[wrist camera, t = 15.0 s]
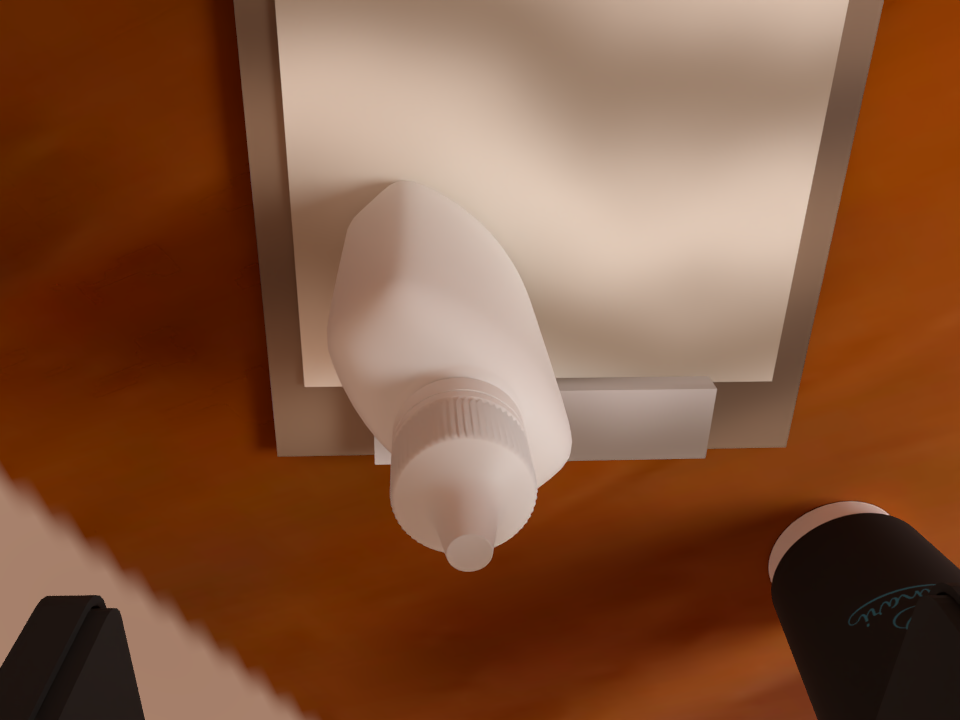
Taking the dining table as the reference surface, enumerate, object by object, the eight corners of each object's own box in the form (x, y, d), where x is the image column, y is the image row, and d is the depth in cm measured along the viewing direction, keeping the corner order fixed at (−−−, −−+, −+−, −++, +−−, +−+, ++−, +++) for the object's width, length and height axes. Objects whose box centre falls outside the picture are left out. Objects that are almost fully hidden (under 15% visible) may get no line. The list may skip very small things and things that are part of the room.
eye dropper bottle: (391, 375, 24) (376, 713, 14) (336, 189, 22) (265, 426, 11) (538, 342, 24) (638, 657, 14) (500, 151, 22) (585, 355, 11)
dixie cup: (813, 671, 32) (987, 988, 23) (678, 568, 30) (811, 879, 20) (987, 543, 30) (1266, 834, 20) (859, 420, 27) (1110, 686, 18)
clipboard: (189, -512, 16) (168, -555, 15) (969, -459, 18) (1019, -494, 16) (280, 446, 26) (272, 475, 25) (778, 437, 27) (798, 464, 26)
